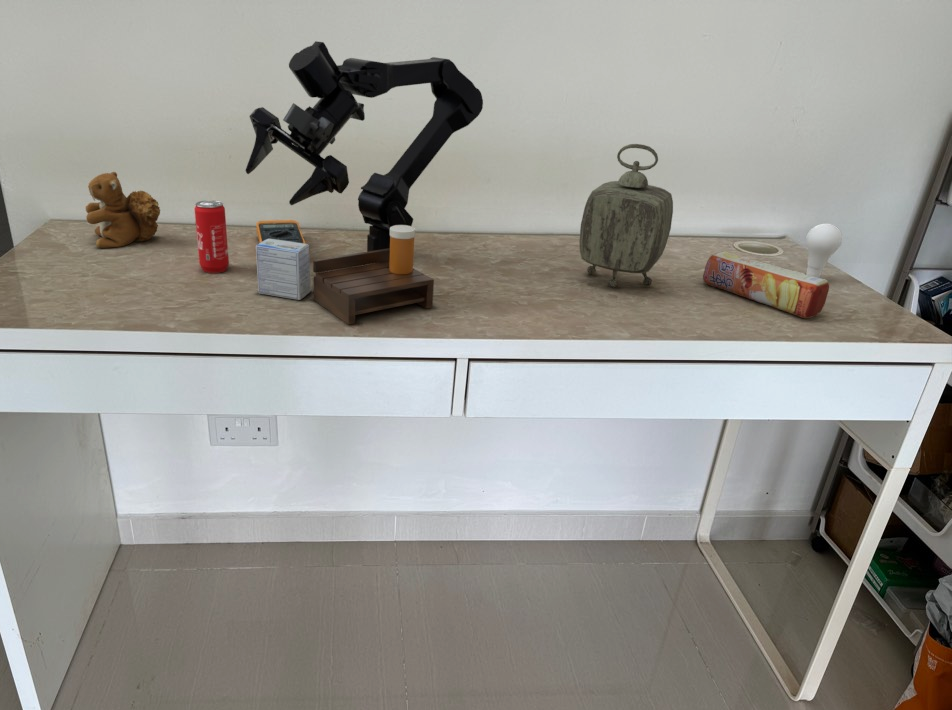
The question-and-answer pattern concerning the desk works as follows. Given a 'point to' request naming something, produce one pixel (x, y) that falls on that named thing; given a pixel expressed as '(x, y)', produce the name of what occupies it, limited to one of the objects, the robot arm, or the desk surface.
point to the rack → (367, 285)
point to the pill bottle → (401, 249)
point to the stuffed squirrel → (120, 213)
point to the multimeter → (279, 231)
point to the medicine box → (283, 268)
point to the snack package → (767, 284)
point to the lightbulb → (821, 247)
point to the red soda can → (211, 236)
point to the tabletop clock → (626, 223)
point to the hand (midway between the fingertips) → (268, 188)
